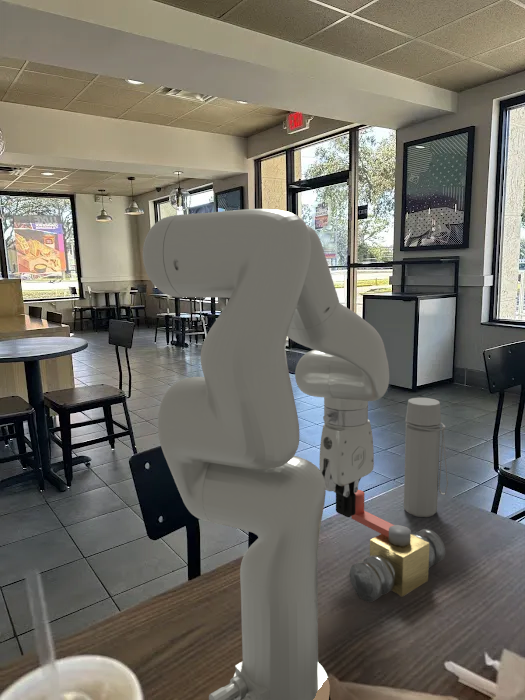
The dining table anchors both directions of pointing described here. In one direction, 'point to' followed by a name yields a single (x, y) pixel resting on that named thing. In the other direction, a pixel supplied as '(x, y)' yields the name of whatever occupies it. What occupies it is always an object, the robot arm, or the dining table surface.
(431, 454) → the water bottle
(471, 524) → the dining table surface
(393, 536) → the lever
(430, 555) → the valve
